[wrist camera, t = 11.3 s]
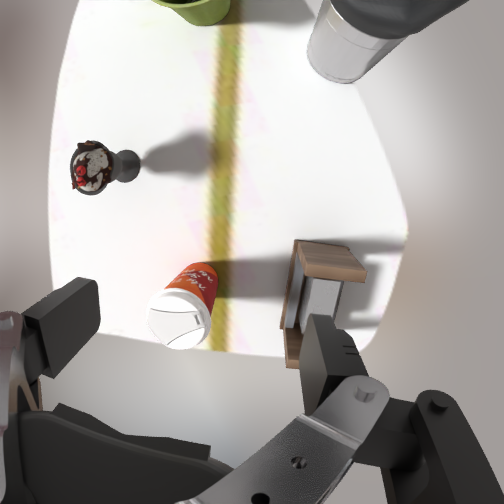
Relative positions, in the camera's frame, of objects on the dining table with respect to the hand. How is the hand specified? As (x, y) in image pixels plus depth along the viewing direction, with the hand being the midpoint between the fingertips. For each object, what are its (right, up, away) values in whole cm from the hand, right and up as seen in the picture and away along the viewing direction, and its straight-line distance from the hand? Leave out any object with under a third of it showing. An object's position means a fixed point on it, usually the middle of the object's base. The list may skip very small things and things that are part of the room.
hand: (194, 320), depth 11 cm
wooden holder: (+11, -3, +35) cm, 37 cm away
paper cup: (-6, -2, +35) cm, 36 cm away
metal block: (+11, -3, +34) cm, 36 cm away
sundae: (-17, +15, +31) cm, 39 cm away
